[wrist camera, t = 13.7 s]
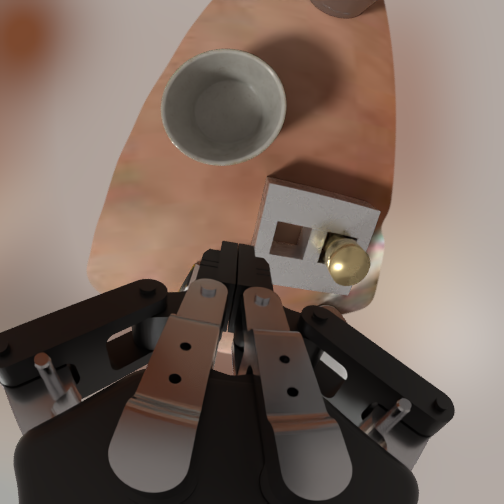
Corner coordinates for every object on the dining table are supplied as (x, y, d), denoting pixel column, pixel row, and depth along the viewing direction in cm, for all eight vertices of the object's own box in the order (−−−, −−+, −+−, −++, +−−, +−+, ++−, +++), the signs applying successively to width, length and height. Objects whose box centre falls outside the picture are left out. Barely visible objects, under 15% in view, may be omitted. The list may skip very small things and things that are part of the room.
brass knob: (318, 217, 40) (339, 244, 31) (349, 224, 40) (376, 252, 31) (308, 249, 42) (324, 282, 33) (339, 255, 43) (360, 288, 34)
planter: (293, 103, 33) (311, 95, 23) (238, 173, 37) (236, 189, 28) (219, 54, 29) (210, 29, 20) (165, 125, 33) (138, 125, 24)
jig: (266, 176, 37) (269, 183, 33) (366, 201, 39) (380, 211, 34) (246, 263, 43) (246, 280, 38) (338, 279, 45) (347, 295, 40)
